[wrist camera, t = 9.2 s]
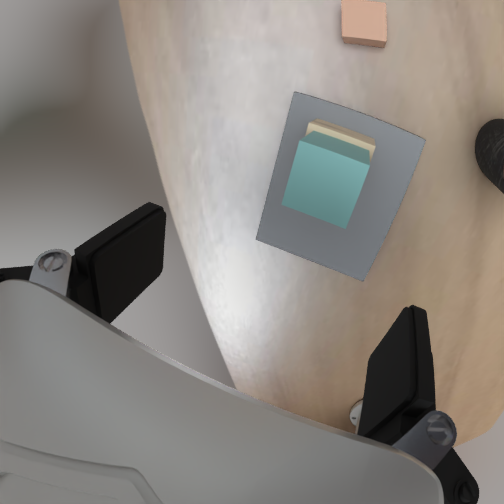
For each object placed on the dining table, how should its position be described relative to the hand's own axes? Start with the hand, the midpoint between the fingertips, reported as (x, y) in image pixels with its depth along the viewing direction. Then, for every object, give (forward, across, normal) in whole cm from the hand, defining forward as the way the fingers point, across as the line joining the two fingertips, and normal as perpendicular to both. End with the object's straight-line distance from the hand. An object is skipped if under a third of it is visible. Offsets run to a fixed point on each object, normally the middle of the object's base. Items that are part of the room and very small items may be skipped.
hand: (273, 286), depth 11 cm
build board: (+24, -1, +4) cm, 24 cm away
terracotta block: (+22, +2, -16) cm, 28 cm away
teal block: (+18, 0, 0) cm, 18 cm away
